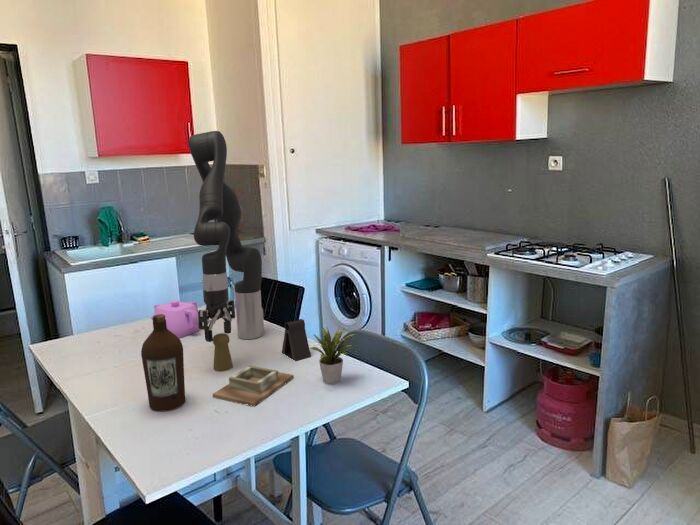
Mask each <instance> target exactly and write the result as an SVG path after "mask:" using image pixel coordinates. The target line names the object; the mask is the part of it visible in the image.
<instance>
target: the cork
mask: <svg viewBox="0 0 700 525" xmlns="http://www.w3.org/2000/svg"><path fill="white" fill-rule="evenodd" d="M212 343H213V346H214V352H213V353H214V354H213V370H214V371H215V372H226V370H227V371H230V370H231V369H233V362H232V357H231V351H230V347H229V344H230V337H229V334H227V333H224V332H222V333H215V334H214V335H213V341H212ZM229 369H230V370H229Z"/></svg>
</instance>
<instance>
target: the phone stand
mask: <svg viewBox="0 0 700 525" xmlns="http://www.w3.org/2000/svg"><path fill="white" fill-rule="evenodd" d="M306 331H307V330H306V323H305V320H304V319H302V318H299V319H298V318H297V319H294V320H290V321H286V322H285V323H284V335H283V342H282V346H281V347H282V348H281V349H282V350H281V353H283V354H282V355H284V354H285V355H286V356H285V355H284V356H285V357H287V356H288V357H287V358H289V359H290V358H291V360H292V359H293V360H292V361H294V360H295V361H294V362H297V361H300V360H304V359H307V358H311V357H312V356H311V349H310V345H309V340H308V337H307V332H306Z"/></svg>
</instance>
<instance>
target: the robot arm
mask: <svg viewBox="0 0 700 525" xmlns="http://www.w3.org/2000/svg"><path fill="white" fill-rule="evenodd" d="M188 148H189V151H190V155H191V157H192V159H193V162H194V165H195V166H196V168H197V171H198V174H199V176H200V178H201V181H202V185H201V187H200V189H199V194H198V195H199V197H198V198H199V199H198V200H199V210H198V211H199V212H198V213H199V214H198V217H197V221H196V224H195V227H194V229H193V239H194V241H195V243H196V244H197V246H201V247H207V246H208V247H209V246H218V248H217V249H215V251H211V252H207V253H205V254H203V255H202V257H201V265H202V280H201V281H202V291H203V292H202V296H203V303H204V304H205V305H206V306H205V309H199V310H198V322H199V330H203V332H204V339H205V341H206V342H207V343H208V342H209V343H213V337H214V335H213V326H214V325H215V324H216V322H217V321H218V320H219V319H222V320H223V333H225V334H227V335H229V334H231V333H232V321H233V319H235V318H236V326H237V327H236V328H237V338H239V339H241V340H253V339H254V340H255V339H259V338H261V337H262V336H263V335H264V333H265V324H264V321H265V320H264V308H263V307H262V294H261V293H262V291H261V284H262V280H263V271H262V270H263V269H262V268H263V263H262V262H263V260H262V255H261V252H260V250H259V249H257V248H256V247H250V246H243V245H242V242H241V240H240V236H239V227H240V224H241V223H240V222H241V219H242V209H241V205H240V202H239V200H238V199H239V198H238V196H237V194H236V192H235V191H234V190H233V189H232V188H231V186H229V185H228V184H227V183H225V182H224V178H225V172H226V165H227V156H228V154H227V153H228V150H227V148H228V146H227V142H226V139H225V136H224V134H222V132H221V131H219V130H212V131H206V132H201V133H196V134H192V135H190V136H189V138H188ZM210 162H213V163H212V166H211V165H210ZM213 220H215V221H213ZM211 221H212V222H211ZM227 263H228V266H229V267H230V269H231V270H232V271H235V272H239V273H243V278H242V280H240V281H237V282H235V284H234V299H235V301H234V300H232V299H230V298H229V279H228V274H227Z"/></svg>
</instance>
